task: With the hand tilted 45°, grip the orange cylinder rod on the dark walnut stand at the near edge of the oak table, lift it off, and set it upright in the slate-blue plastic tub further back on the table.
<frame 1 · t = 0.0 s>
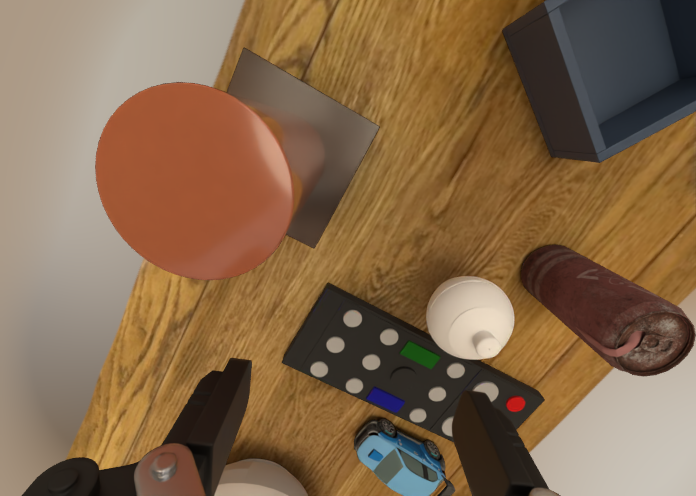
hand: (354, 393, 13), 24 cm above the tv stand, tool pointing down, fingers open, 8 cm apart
tub: (594, 57, 30), on the tv stand
orange cylinder rod: (282, 157, 23), point 10 cm above the tv stand, touching stand
bowl: (258, 484, 48), on the tv stand
spinning top: (446, 283, 38), on the tv stand
toy car: (397, 441, 45), on the tv stand
can: (544, 269, 37), on the tv stand
remote control: (413, 372, 42), on the tv stand
stand: (301, 150, 33), on the tv stand
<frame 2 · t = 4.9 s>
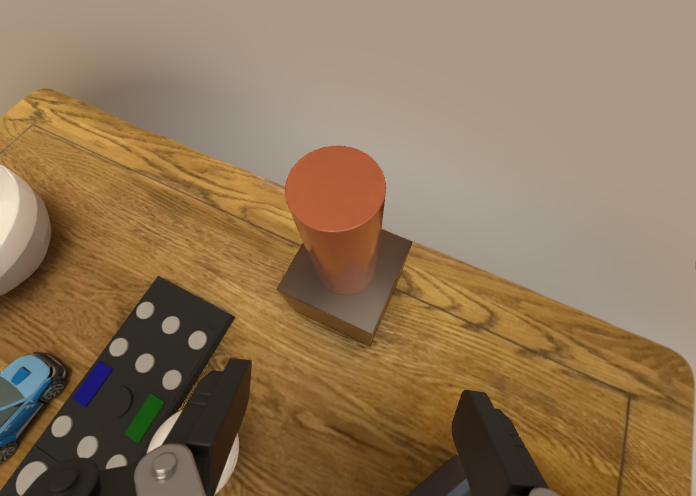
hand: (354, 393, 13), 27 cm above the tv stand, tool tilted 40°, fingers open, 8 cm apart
orange cylinder rod: (345, 265, 33), point 10 cm above the tv stand, touching stand
bowl: (10, 254, 46), on the tv stand
spinning top: (225, 440, 36), on the tv stand
toy car: (24, 408, 38), on the tv stand
remote control: (120, 416, 38), on the tv stand
stand: (349, 291, 42), on the tv stand
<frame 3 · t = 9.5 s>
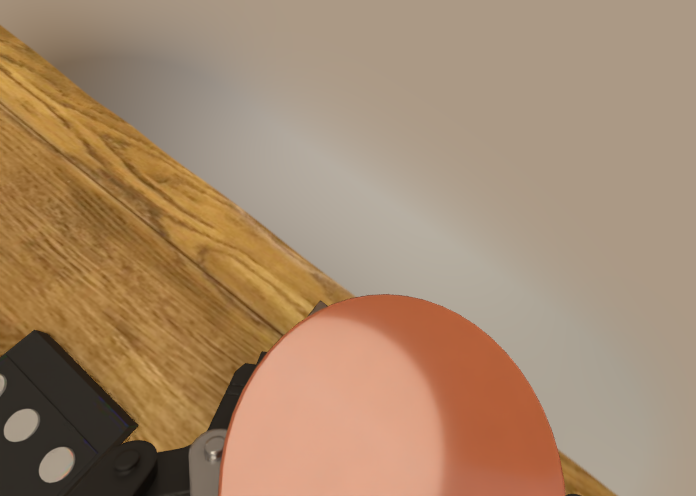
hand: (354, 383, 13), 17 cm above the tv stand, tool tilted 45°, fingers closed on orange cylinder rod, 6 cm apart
orange cylinder rod: (336, 424, 18), point 10 cm above the tv stand, touching gripper, stand
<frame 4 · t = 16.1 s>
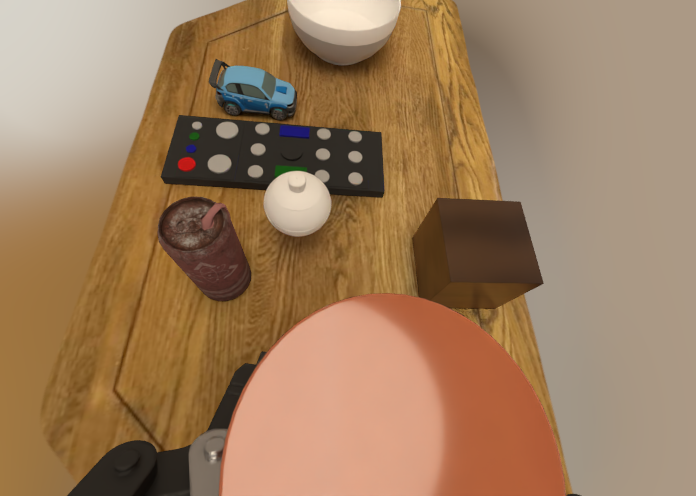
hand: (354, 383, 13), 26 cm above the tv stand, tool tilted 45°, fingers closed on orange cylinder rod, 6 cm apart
orange cylinder rod: (336, 424, 18), point 20 cm above the tv stand, touching gripper
bowl: (339, 46, 63), on the tv stand
spinning top: (299, 233, 45), on the tv stand
toy car: (258, 106, 54), on the tv stand
can: (227, 278, 41), on the tv stand
remote control: (280, 160, 50), on the tv stand
stand: (452, 272, 45), on the tv stand
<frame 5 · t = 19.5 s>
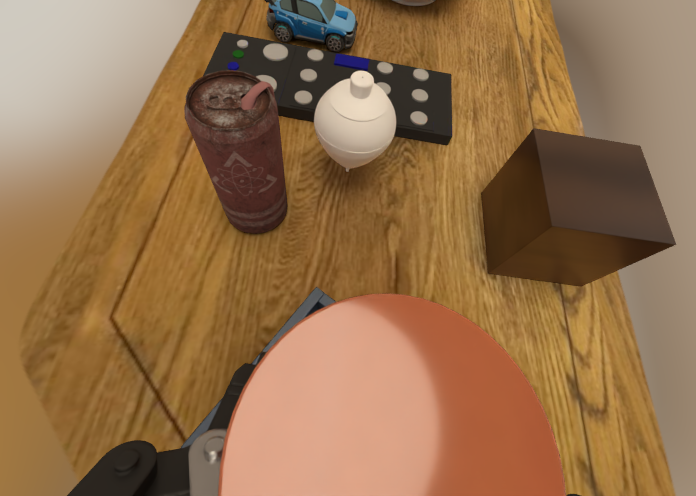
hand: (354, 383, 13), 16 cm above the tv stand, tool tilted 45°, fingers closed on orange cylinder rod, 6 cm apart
tub: (326, 418, 27), on the tv stand
orange cylinder rod: (336, 424, 18), point 10 cm above the tv stand, touching gripper
spinning top: (346, 172, 38), on the tv stand
toy car: (312, 37, 48), on the tv stand
can: (258, 210, 35), on the tv stand
remote control: (332, 93, 43), on the tv stand
stand: (528, 237, 37), on the tv stand
when the fingers open (8 cm above the tv stand, at t = 22.6 s): orange cylinder rod stays where it is, resting on tub.
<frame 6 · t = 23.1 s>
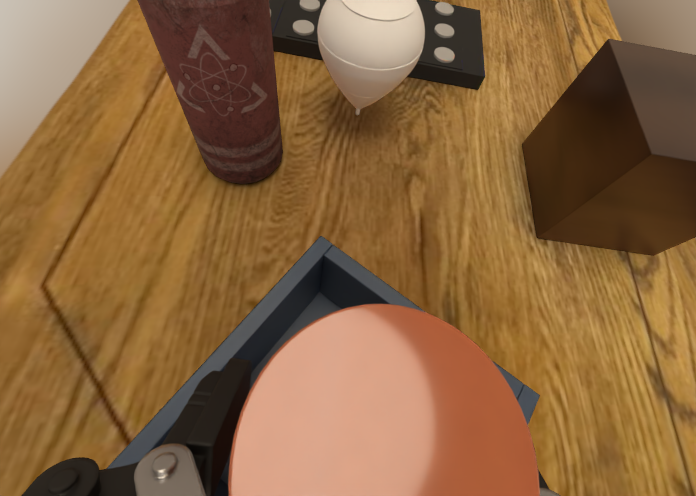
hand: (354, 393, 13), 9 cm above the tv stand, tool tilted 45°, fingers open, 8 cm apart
tub: (333, 422, 20), on the tv stand
orange cylinder rod: (334, 423, 19), point 1 cm above the tv stand, touching tub
spinning top: (356, 116, 31), on the tv stand
can: (246, 157, 27), on the tv stand
remote control: (337, 29, 36), on the tv stand
stand: (583, 196, 29), on the tv stand
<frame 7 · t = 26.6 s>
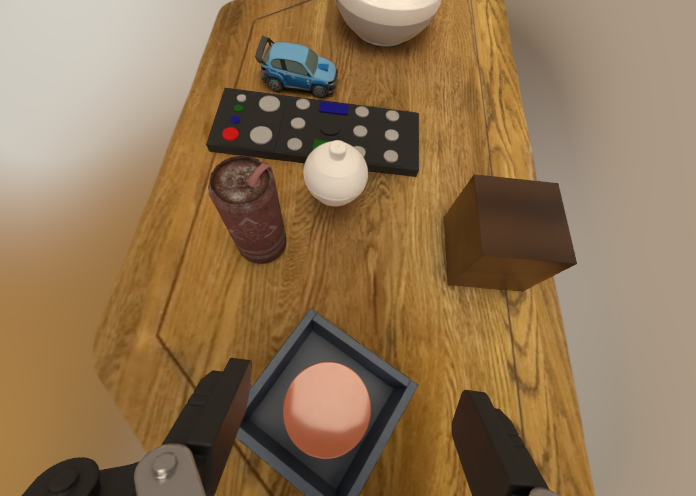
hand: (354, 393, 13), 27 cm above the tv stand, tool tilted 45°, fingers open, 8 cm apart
tub: (323, 403, 36), on the tv stand
orange cylinder rod: (323, 403, 36), point 1 cm above the tv stand, touching tub
bowl: (381, 28, 63), on the tv stand
spinning top: (333, 205, 47), on the tv stand
toy car: (300, 84, 56), on the tv stand
can: (263, 242, 44), on the tv stand
remote control: (318, 135, 51), on the tv stand
stand: (481, 252, 45), on the tv stand
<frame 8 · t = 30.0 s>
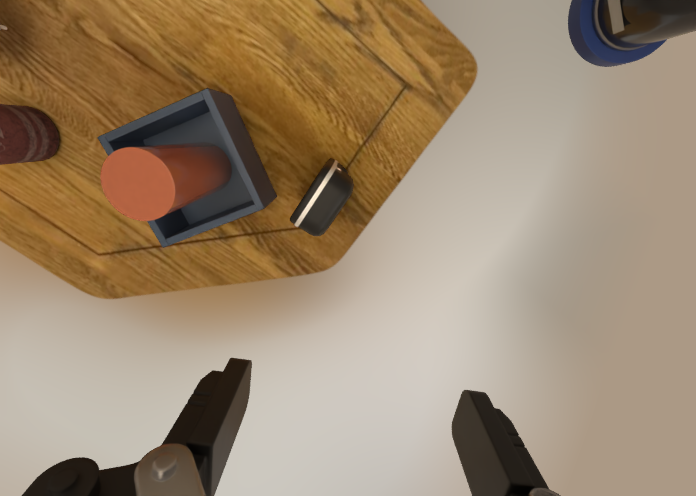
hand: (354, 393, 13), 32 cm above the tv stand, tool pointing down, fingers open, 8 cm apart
tub: (209, 167, 41), on the tv stand
orange cylinder rod: (206, 167, 41), point 1 cm above the tv stand, touching tub
spinning top: (8, 28, 37), on the tv stand
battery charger: (329, 187, 42), on the tv stand
can: (36, 132, 40), on the tv stand
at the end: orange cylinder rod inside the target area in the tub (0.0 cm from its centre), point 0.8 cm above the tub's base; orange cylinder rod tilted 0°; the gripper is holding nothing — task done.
